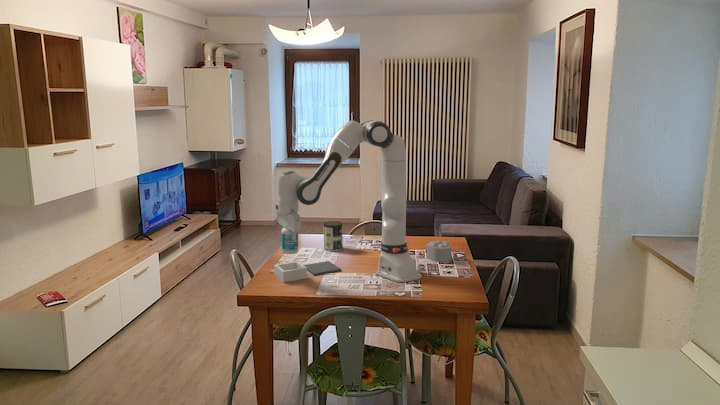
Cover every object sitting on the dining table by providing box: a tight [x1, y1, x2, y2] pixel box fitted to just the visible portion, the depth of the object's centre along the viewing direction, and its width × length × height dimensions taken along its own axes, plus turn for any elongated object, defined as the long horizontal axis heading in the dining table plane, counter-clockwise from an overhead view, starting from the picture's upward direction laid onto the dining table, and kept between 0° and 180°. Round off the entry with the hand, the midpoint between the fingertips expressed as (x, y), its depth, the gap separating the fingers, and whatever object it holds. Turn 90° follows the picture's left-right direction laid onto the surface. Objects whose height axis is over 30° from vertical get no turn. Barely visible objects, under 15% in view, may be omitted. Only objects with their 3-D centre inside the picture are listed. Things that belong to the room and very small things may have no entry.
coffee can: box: [322, 220, 343, 252], centre depth 298 cm, size 10×10×14 cm
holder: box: [273, 260, 308, 283], centre depth 255 cm, size 11×11×5 cm
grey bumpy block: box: [426, 239, 453, 263], centre depth 280 cm, size 10×13×9 cm
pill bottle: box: [280, 223, 299, 255], centre depth 251 cm, size 8×7×14 cm
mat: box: [302, 260, 342, 276], centre depth 266 cm, size 14×14×1 cm
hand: (289, 237), depth 251 cm, fingers closed on pill bottle, 7 cm apart
